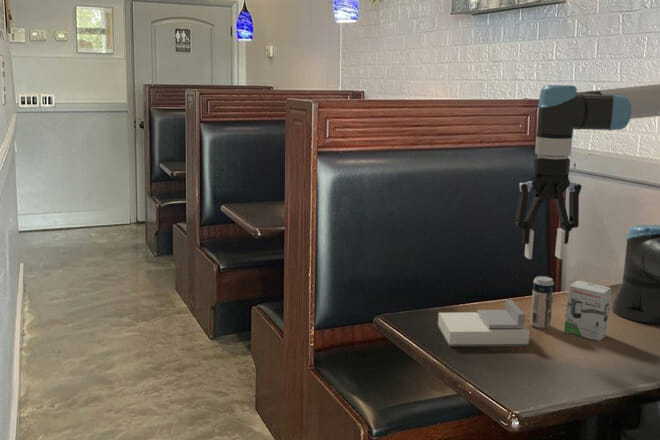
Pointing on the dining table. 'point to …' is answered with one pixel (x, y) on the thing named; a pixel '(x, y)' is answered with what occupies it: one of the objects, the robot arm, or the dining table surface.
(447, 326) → the socket plate
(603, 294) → the ink box
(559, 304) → the dining table surface
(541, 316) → the beer can
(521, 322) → the shutter
